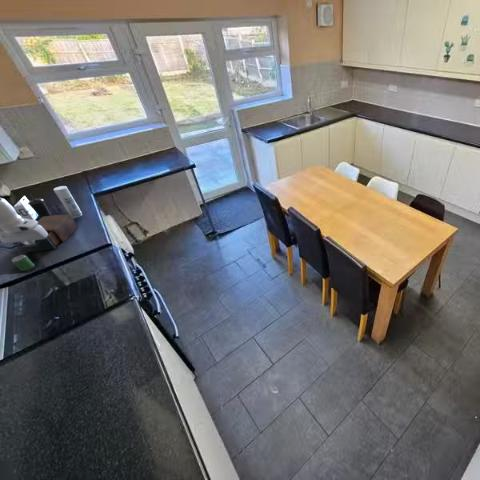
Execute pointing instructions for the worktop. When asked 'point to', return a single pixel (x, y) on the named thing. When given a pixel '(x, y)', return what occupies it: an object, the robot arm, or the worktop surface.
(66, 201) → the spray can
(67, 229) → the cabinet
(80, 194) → the worktop surface
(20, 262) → the green can
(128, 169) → the worktop surface
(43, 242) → the drawer
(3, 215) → the robot arm
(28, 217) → the ink box
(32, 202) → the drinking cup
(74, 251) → the worktop surface
